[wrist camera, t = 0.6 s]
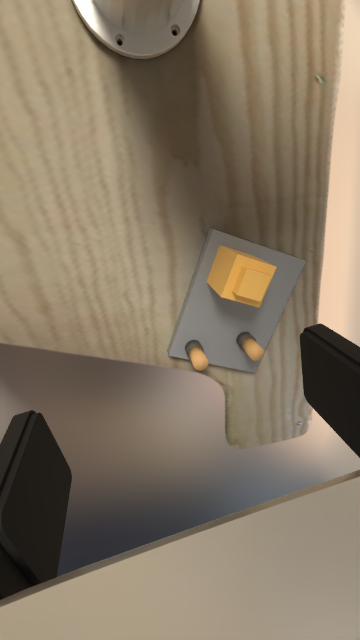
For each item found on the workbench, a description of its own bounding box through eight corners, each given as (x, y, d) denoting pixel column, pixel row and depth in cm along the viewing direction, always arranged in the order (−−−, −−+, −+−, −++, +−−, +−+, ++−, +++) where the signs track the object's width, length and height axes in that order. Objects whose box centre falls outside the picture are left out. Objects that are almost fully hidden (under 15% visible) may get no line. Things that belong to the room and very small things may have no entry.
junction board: (209, 227, 39) (225, 233, 34) (300, 258, 43) (326, 268, 38) (167, 350, 45) (174, 372, 39) (250, 367, 49) (267, 390, 43)
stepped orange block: (219, 244, 39) (242, 256, 32) (254, 255, 40) (282, 269, 33) (206, 281, 40) (225, 301, 33) (239, 291, 42) (264, 311, 35)
